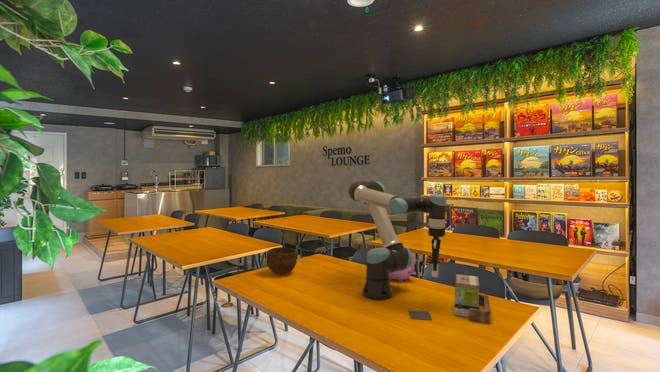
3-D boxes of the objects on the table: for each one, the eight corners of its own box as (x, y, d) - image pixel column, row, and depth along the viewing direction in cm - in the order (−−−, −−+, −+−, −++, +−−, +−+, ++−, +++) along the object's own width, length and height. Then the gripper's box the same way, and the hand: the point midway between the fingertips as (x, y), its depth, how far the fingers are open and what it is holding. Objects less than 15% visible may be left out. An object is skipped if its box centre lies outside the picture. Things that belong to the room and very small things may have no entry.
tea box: (479, 319, 146) (479, 285, 146) (454, 315, 150) (454, 282, 149) (477, 306, 160) (478, 275, 160) (454, 303, 164) (455, 273, 163)
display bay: (469, 320, 144) (469, 309, 144) (470, 302, 164) (470, 292, 164) (489, 324, 141) (490, 312, 141) (488, 305, 161) (488, 295, 161)
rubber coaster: (410, 320, 145) (410, 318, 145) (408, 312, 154) (408, 310, 154) (432, 321, 144) (432, 319, 144) (428, 313, 153) (428, 311, 153)
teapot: (422, 279, 201) (422, 256, 200) (411, 286, 188) (412, 261, 188) (388, 272, 214) (389, 251, 213) (376, 278, 201) (377, 256, 201)
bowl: (295, 278, 200) (295, 253, 200) (263, 278, 201) (263, 253, 200) (298, 269, 219) (298, 247, 219) (269, 269, 219) (269, 246, 219)
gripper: (444, 230, 151) (441, 282, 153) (446, 225, 163) (444, 273, 165) (426, 228, 154) (424, 279, 156) (430, 224, 166) (428, 271, 168)
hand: (434, 276), depth 160 cm, fingers closed
